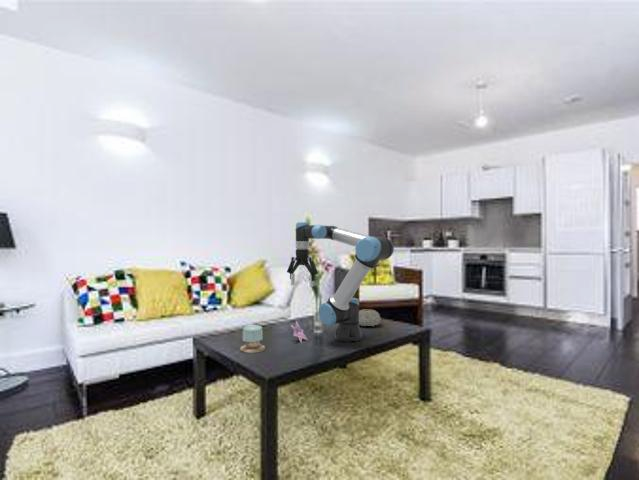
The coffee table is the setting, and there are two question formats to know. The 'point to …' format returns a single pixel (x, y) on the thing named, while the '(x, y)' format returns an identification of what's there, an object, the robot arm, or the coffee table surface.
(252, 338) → the cap
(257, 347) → the stud pedestal
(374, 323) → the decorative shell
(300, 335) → the lily
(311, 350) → the coffee table surface
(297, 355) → the coffee table surface
